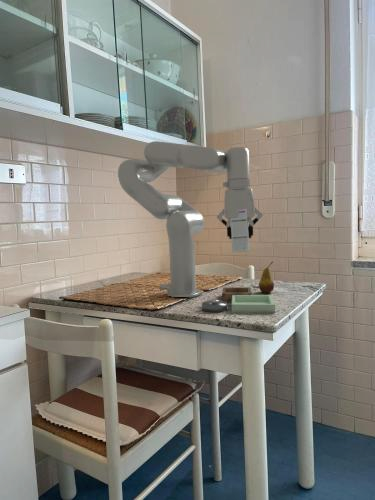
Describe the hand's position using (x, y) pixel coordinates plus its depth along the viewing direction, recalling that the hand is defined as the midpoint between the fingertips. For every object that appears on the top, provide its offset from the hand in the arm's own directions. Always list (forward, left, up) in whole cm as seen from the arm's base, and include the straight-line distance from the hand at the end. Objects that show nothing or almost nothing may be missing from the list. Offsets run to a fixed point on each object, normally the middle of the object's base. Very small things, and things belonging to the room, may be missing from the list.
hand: (240, 237), depth 129 cm
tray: (+4, -9, -22) cm, 24 cm away
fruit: (+10, +13, -22) cm, 27 cm away
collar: (-1, +3, -22) cm, 22 cm away
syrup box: (0, 0, -5) cm, 5 cm away
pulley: (-8, -12, -22) cm, 26 cm away
